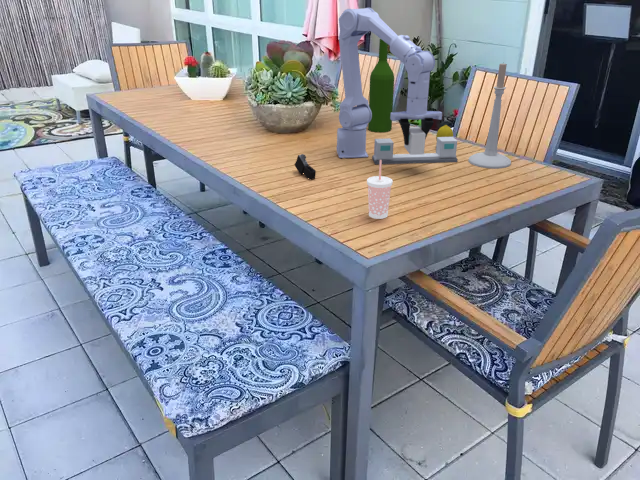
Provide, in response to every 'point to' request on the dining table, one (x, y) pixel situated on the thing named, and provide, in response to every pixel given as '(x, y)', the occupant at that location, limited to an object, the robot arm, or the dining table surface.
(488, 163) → the candlestick
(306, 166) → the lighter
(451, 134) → the lemon
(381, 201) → the beverage cup
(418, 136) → the block
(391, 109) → the wine bottle
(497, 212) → the dining table surface
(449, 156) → the board
